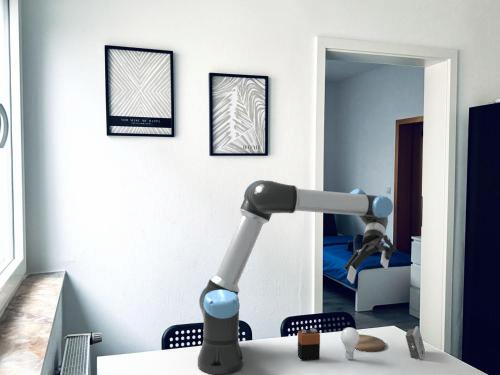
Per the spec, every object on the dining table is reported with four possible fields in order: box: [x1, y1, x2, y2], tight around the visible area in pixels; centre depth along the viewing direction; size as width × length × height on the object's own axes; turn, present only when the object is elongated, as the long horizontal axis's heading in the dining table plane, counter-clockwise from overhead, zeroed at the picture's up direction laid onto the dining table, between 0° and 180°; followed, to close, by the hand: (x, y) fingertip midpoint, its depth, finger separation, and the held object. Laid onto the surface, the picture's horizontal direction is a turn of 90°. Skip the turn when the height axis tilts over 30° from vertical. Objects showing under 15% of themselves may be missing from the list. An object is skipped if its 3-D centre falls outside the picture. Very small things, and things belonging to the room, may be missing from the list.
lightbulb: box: [340, 327, 360, 361], centre depth 147 cm, size 6×6×11 cm
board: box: [355, 333, 386, 353], centre depth 162 cm, size 15×15×1 cm
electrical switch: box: [405, 326, 426, 361], centre depth 153 cm, size 9×5×9 cm, turn 152°
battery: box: [297, 327, 321, 362], centre depth 148 cm, size 4×7×10 cm, turn 102°
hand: (366, 273), depth 141 cm, fingers open, 13 cm apart
